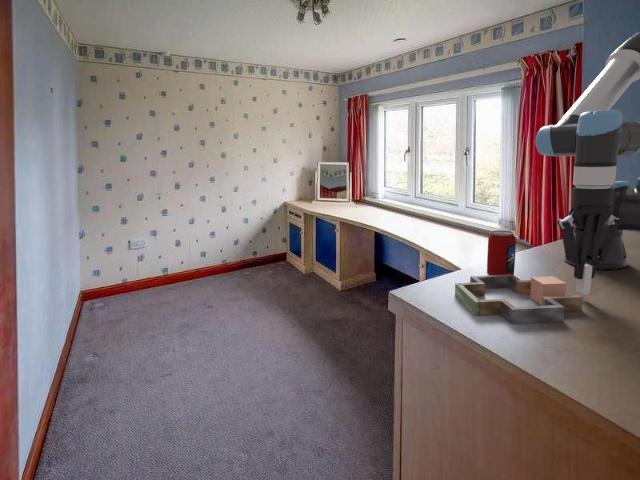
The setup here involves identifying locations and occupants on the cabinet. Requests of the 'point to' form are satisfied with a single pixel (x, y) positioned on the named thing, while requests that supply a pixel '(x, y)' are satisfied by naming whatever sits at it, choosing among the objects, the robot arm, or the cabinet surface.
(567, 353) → the cabinet surface
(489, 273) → the beverage can
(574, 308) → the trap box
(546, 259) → the cabinet surface
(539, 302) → the block
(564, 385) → the cabinet surface
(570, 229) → the robot arm
